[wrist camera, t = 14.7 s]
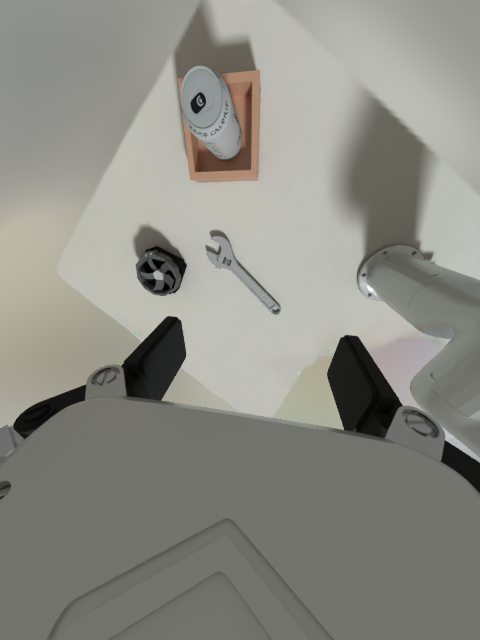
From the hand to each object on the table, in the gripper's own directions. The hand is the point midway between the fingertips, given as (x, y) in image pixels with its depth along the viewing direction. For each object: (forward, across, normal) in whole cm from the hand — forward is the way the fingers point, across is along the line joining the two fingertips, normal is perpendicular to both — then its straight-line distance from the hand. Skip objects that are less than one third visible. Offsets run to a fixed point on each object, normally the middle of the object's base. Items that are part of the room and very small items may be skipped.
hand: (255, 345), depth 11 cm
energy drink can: (+36, +9, -17) cm, 41 cm away
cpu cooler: (+37, +26, +8) cm, 45 cm away
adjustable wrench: (+38, +5, +9) cm, 39 cm away
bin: (+37, +10, -17) cm, 42 cm away
